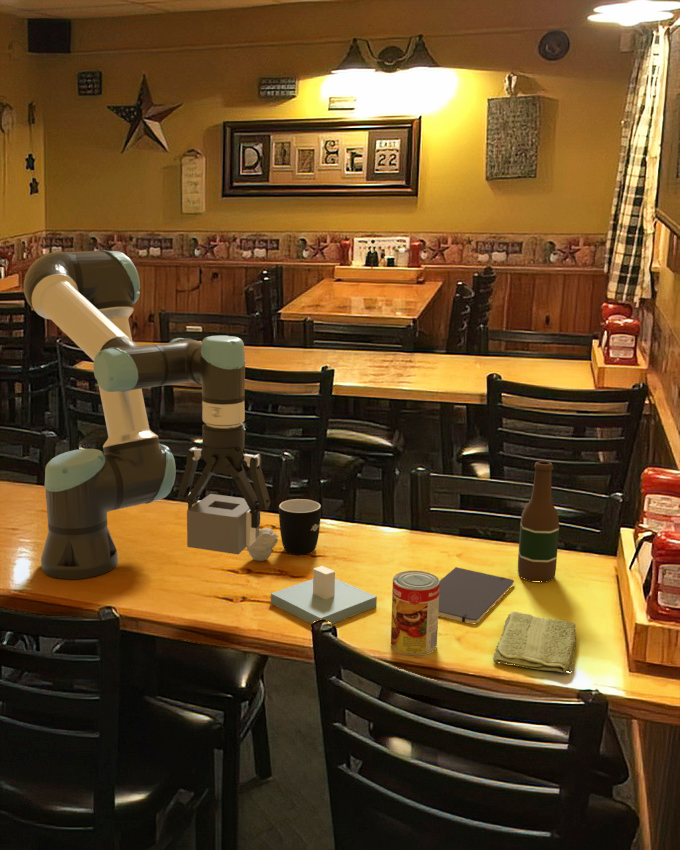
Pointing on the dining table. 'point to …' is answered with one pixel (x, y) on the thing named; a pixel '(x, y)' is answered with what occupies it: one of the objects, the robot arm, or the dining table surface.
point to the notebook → (470, 594)
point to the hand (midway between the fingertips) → (223, 539)
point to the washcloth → (537, 643)
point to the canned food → (414, 612)
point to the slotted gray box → (218, 524)
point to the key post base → (323, 598)
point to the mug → (299, 525)
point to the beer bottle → (539, 529)
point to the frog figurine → (263, 544)
